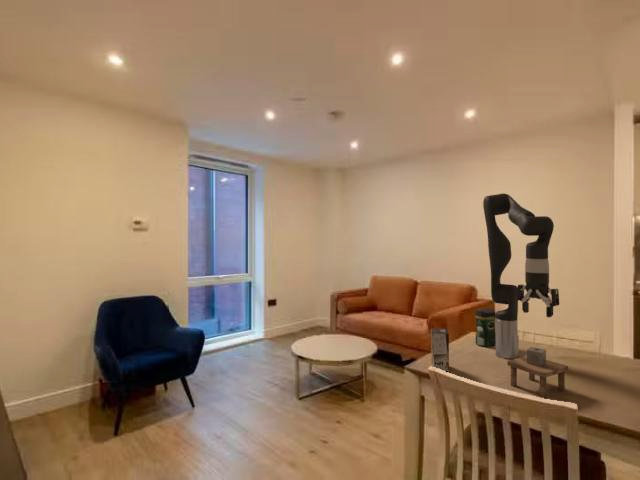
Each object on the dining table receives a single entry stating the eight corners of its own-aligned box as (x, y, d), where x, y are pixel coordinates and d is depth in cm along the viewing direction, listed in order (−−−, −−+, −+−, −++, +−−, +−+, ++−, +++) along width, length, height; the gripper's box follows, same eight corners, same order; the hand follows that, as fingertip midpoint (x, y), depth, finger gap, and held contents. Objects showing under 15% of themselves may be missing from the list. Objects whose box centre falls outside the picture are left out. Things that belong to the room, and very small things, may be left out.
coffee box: (449, 372, 151) (449, 333, 150) (433, 371, 152) (432, 333, 152) (446, 364, 160) (446, 328, 159) (431, 363, 161) (430, 327, 161)
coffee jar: (486, 341, 192) (485, 306, 192) (498, 345, 185) (498, 309, 185) (472, 343, 188) (472, 308, 188) (484, 348, 181) (484, 311, 181)
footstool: (530, 377, 144) (530, 354, 144) (568, 390, 132) (568, 366, 132) (507, 384, 138) (507, 361, 138) (544, 399, 125) (544, 373, 125)
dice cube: (546, 363, 135) (546, 349, 135) (542, 366, 131) (542, 352, 131) (530, 359, 138) (530, 346, 138) (526, 363, 135) (526, 349, 135)
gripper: (512, 269, 138) (512, 312, 139) (550, 273, 126) (551, 320, 126) (524, 268, 142) (525, 310, 142) (563, 271, 129) (563, 317, 130)
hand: (537, 314), depth 134 cm, fingers open, 8 cm apart
